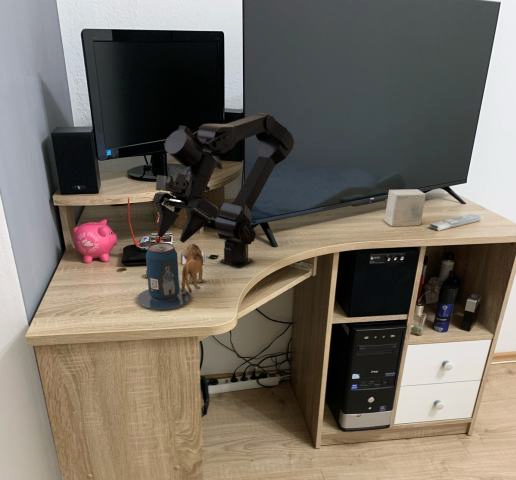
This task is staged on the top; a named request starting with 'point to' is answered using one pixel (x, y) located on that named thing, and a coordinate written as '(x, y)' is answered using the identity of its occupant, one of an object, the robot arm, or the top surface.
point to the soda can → (162, 271)
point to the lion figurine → (192, 267)
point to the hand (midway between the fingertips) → (170, 239)
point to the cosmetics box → (404, 207)
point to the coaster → (152, 304)
